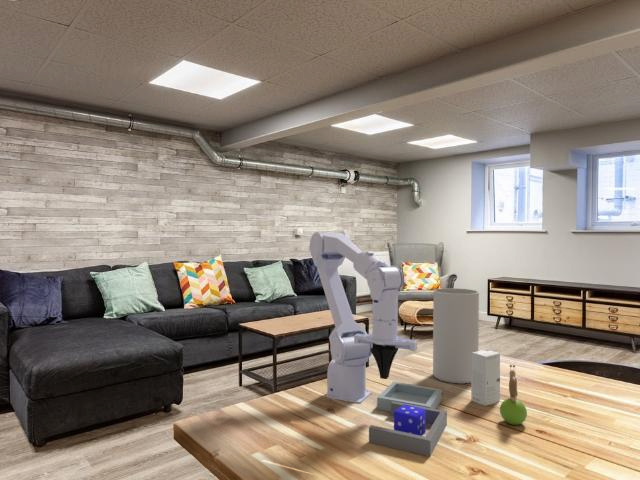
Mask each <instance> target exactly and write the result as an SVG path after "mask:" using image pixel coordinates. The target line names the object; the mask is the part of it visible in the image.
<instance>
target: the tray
mask: <svg viewBox="0 0 640 480" xmlns="http://www.w3.org/2000/svg"><path fill="white" fill-rule="evenodd" d="M376 399H377V401H376V408H377V410H381V411H385V412H390V413H391V403H392V402H393V401H395V402H400V403H406V404H411V405H417V406H422V407H427V408H433V409H437V408H438V407H439V405H440V404H441V403H442V388H435V387H429V386H423V385H418V384H417V385H416V384H410V383H405V382H404V383H403V382H398V381H392V382H391V383H390V384H389V385H388V386H387V387H386V388H385V389H384V390H383V391H382V392H381V393H380V394H379V395H378V396H377V398H376Z"/></svg>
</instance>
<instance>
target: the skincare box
mask: <svg viewBox="0 0 640 480" xmlns="http://www.w3.org/2000/svg"><path fill="white" fill-rule="evenodd" d="M470 385H471V386H470V387H471V391H470V392H471V399H470V400H471V401H472V402H474V403H476V404H479V405H481V406H485V407H486V406H490V405H494V404H496V403H499V402H501V354H500V352H497V351H493V350H489V349H484V350H478V351H477V352H472V365H471V383H470Z"/></svg>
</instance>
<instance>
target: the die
mask: <svg viewBox="0 0 640 480" xmlns="http://www.w3.org/2000/svg"><path fill="white" fill-rule="evenodd" d="M425 421H426V410H425V409H423V408H419V407H414V406H410V405H406V404H403V405H402V406H401V407H400V408H398V409H397V410H396V411H394V416H393V430H396V431H401V432H406V433H410V434H415V435H420V436H423V435H424V434H425V433H426V423H425Z"/></svg>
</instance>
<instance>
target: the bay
mask: <svg viewBox="0 0 640 480" xmlns="http://www.w3.org/2000/svg"><path fill="white" fill-rule="evenodd" d="M403 404H406V403H400V402H395V401H393V402H392V403H391V412H390V416H391V417H394V411H396V410H397V409H398V408H400V407H401V406H402V405H403ZM406 405H410V406H414V407H419V408H423V409H425V410H426V421H425V424H429V425H432V426H431V427H430V428H429V430H428V432H427V434H426V435H425V436H423V435H422V436H420V435H415V434H410V433H406V432H401V431H396V430H394V429H392V428H386V427H381V426H378V425H371V424H370V425H369V427H368V443H371V444H374V445H378V446H383V447H386V448H392V449H394V450H395V449H396V450H400V451H404V452H408V453H413V454H417V455H422V456H427V457H431V456H432V454H433V452H434V451H435V449H436V447H437V444H438V442H439V440H440V439H441V436H442V435H443V433H444V431H445V429H446V428H447V426H448V420H447V418H448V411H447V410H444V409H443V410H442V409H437V408H436V409H433V408H427V407H422V406H417V405H411V404H406Z"/></svg>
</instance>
